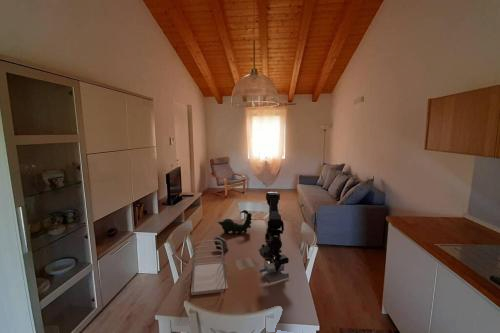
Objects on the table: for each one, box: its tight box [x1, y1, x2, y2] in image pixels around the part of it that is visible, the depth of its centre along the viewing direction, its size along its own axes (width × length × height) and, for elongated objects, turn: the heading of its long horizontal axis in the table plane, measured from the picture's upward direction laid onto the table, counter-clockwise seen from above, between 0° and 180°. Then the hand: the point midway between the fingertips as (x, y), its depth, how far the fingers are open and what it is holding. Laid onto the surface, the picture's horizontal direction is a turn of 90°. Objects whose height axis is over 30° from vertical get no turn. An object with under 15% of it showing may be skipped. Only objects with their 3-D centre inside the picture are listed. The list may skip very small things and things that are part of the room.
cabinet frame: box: [259, 267, 290, 284], centre depth 131 cm, size 12×10×2 cm
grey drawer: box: [263, 256, 285, 275], centre depth 130 cm, size 6×9×7 cm, turn 115°
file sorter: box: [190, 239, 229, 296], centre depth 127 cm, size 25×17×16 cm
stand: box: [232, 256, 259, 271], centre depth 140 cm, size 12×10×2 cm
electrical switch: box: [213, 235, 230, 253], centre depth 156 cm, size 9×5×9 cm, turn 44°
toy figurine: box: [217, 209, 253, 235], centre depth 183 cm, size 9×19×25 cm
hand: (274, 267), depth 130 cm, fingers closed on grey drawer, 5 cm apart
